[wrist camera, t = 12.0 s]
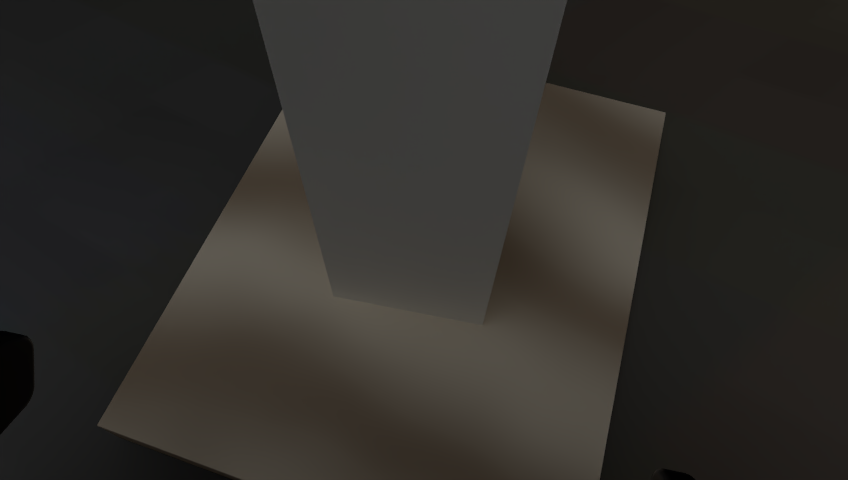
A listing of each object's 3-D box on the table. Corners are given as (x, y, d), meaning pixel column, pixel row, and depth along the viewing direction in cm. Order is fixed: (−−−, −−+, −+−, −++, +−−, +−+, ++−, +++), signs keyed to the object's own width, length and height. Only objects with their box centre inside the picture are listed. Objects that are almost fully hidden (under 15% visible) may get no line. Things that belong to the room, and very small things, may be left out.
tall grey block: (482, 325, 18) (598, -121, 7) (333, 296, 18) (206, -172, 7) (503, 199, 20) (617, -297, 9) (370, 175, 21) (316, -330, 9)
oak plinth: (563, 602, 16) (577, 603, 15) (120, 437, 18) (97, 425, 16) (651, 139, 23) (665, 112, 22) (334, 57, 25) (329, 28, 24)
